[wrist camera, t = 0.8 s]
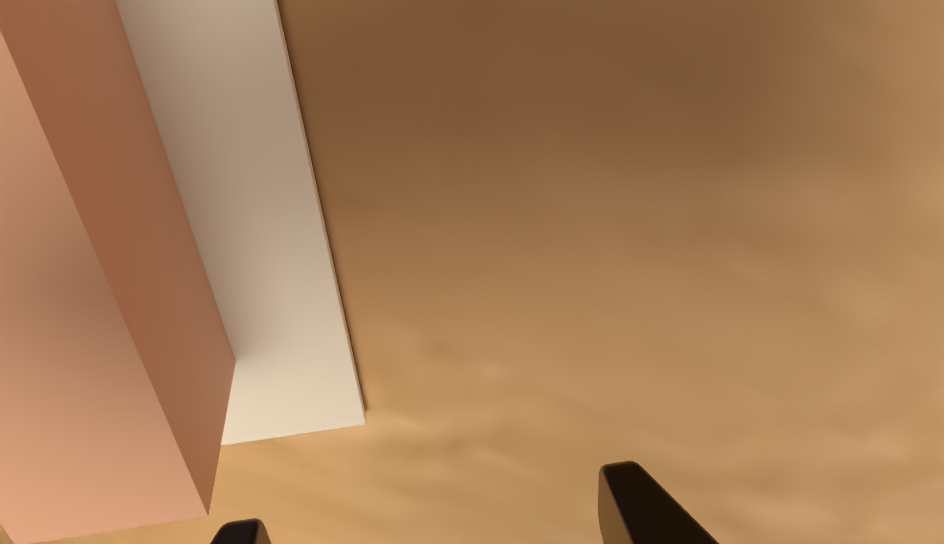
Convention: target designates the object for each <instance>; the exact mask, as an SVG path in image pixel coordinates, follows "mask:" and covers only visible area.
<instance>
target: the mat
mask: <svg viewBox="0 0 944 544" xmlns="http://www.w3.org/2000/svg"><path fill="white" fill-rule="evenodd" d="M115 1H116V4H117V7H118V10H119V13H120V16H121V19H122V22H123V25H124V28H125V31H126V34H127V37H128V40H129V43H130V46H131V49H132V52H133V55H134V58H135V61H136V64H137V67H138V70H139V73H140V76H141V79H142V82H143V85H144V88H145V91H146V94H147V97H148V100H149V103H150V106H151V109H152V112H153V115H154V118H155V121H156V124H157V127H158V130H159V133H160V136H161V139H162V142H163V145H164V148H165V151H166V154H167V157H168V160H169V163H170V166H171V169H172V172H173V175H174V178H175V181H176V184H177V187H178V190H179V193H180V196H181V199H182V202H183V205H184V208H185V211H186V214H187V217H188V220H189V223H190V226H191V229H192V232H193V235H194V238H195V241H196V244H197V247H198V250H199V253H200V256H201V259H202V262H203V265H204V268H205V271H206V274H207V277H208V280H209V283H210V286H211V289H212V292H213V295H214V298H215V301H216V304H217V307H218V310H219V313H220V316H221V319H222V322H223V325H224V328H225V331H226V334H227V337H228V340H229V343H230V346H231V349H232V352H233V355H234V358H235V361H236V363H235V369H234V375H233V380H232V386H231V391H230V397H229V402H228V408H227V414H226V419H225V425H224V430H223V436H222V442H221V445H227V444H234V443H241V442H248V441H255V440H261V439H268V438H275V437H282V436H289V435H296V434H302V433H309V432H316V431H323V430H330V429H336V428H343V427H350V426H357V425H364V424H366V418H365V408H364V403H363V399H362V394H361V389H360V385H359V380H358V375H357V371H356V366H355V362H354V357H353V352H352V348H351V343H350V338H349V334H348V329H347V324H346V320H345V315H344V311H343V306H342V301H341V297H340V292H339V287H338V283H337V278H336V273H335V269H334V264H333V259H332V255H331V250H330V246H329V241H328V236H327V232H326V227H325V222H324V218H323V213H322V208H321V204H320V199H319V195H318V190H317V185H316V181H315V176H314V171H313V167H312V162H311V157H310V153H309V148H308V143H307V139H306V134H305V130H304V125H303V120H302V116H301V111H300V106H299V102H298V97H297V92H296V88H295V83H294V79H293V74H292V69H291V65H290V60H289V55H288V51H287V46H286V41H285V37H284V32H283V27H282V23H281V18H280V14H279V9H278V4H277V0H115Z"/></svg>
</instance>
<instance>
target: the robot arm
mask: <svg viewBox="0 0 944 544" xmlns="http://www.w3.org/2000/svg"><path fill="white" fill-rule="evenodd" d="M598 517H599V524H600V529H601V534H602V538H603V542H604V544H719V543H718V542H717V541H716V540H715V539H714V538H713V537H712V536H711V535H710V534H709V533H708V532H707V531H706V530H705V529H704V528H703V527H702V526H701V525H700V524H699V523H698V522H697V521H696V520H695V519H694V518H693V517H692V516H691V515H690V514H689V513H688V512H687V511H686V510H685V509H684V508H683V507H682V506H681V505H680V504H679V503H678V502H677V501H676V500H675V499H674V498H673V497H672V496H671V495H670V494H669V493H668V492H667V491H665V490H664V489H663V488H662V487H661V486H660V485H659V484H658V483H657V482H656V481H655V480H654V479H653V478H652V477H651V476H650V475H649V474H648V473H647V472H646V471H645V470H644V469H643V468H642V467H641V466H640V465H639V464H638V463H636V462H633V461H625V462H618V463H612V464H606V465H603V466H602V467H601V469H600V472H599V490H598ZM210 544H271V542H270V539H269V536H268V534H267V531H266V528H265V526H264V524H263V522H262V521H261V520H260V519H257V518H253V519H247V520H240V521H233V522H229V523H226V524H225V525H223V526H222V527H221V528H220V529H219V531H218V532H217V534H216V535H215V537H214V539H213V540H212V542H211V543H210Z"/></svg>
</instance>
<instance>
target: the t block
mask: <svg viewBox="0 0 944 544" xmlns="http://www.w3.org/2000/svg"><path fill="white" fill-rule="evenodd" d="M235 363H236V361H235V358H234V355H233V352H232V349H231V346H230V343H229V340H228V337H227V334H226V331H225V328H224V325H223V322H222V319H221V316H220V313H219V310H218V307H217V304H216V301H215V298H214V295H213V292H212V289H211V286H210V283H209V280H208V277H207V274H206V271H205V268H204V265H203V262H202V259H201V256H200V253H199V250H198V247H197V244H196V241H195V238H194V235H193V232H192V229H191V226H190V223H189V220H188V217H187V214H186V211H185V208H184V205H183V202H182V199H181V196H180V193H179V190H178V187H177V184H176V181H175V178H174V175H173V172H172V169H171V166H170V163H169V160H168V157H167V154H166V151H165V148H164V145H163V142H162V139H161V136H160V133H159V130H158V127H157V124H156V121H155V118H154V115H153V112H152V109H151V106H150V103H149V100H148V97H147V94H146V91H145V88H144V85H143V82H142V79H141V76H140V73H139V70H138V67H137V64H136V61H135V58H134V55H133V52H132V49H131V46H130V43H129V40H128V37H127V34H126V31H125V28H124V25H123V22H122V19H121V16H120V13H119V10H118V7H117V4H116V1H115V0H0V524H1V525H2V527H3V528H4V530H5V531H6V533H7V534H8V536H9V537H10V539H11V540H12V542H13V543H14V544H31V543H38V542H44V541H51V540H57V539H64V538H70V537H77V536H83V535H90V534H96V533H103V532H109V531H116V530H122V529H129V528H135V527H142V526H148V525H155V524H161V523H168V522H174V521H181V520H187V519H194V518H200V517H207V516H208V514H209V508H210V503H211V497H212V492H213V486H214V481H215V475H216V469H217V464H218V458H219V453H220V447H221V442H222V436H223V430H224V425H225V419H226V414H227V408H228V402H229V397H230V391H231V386H232V380H233V375H234V369H235Z"/></svg>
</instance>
